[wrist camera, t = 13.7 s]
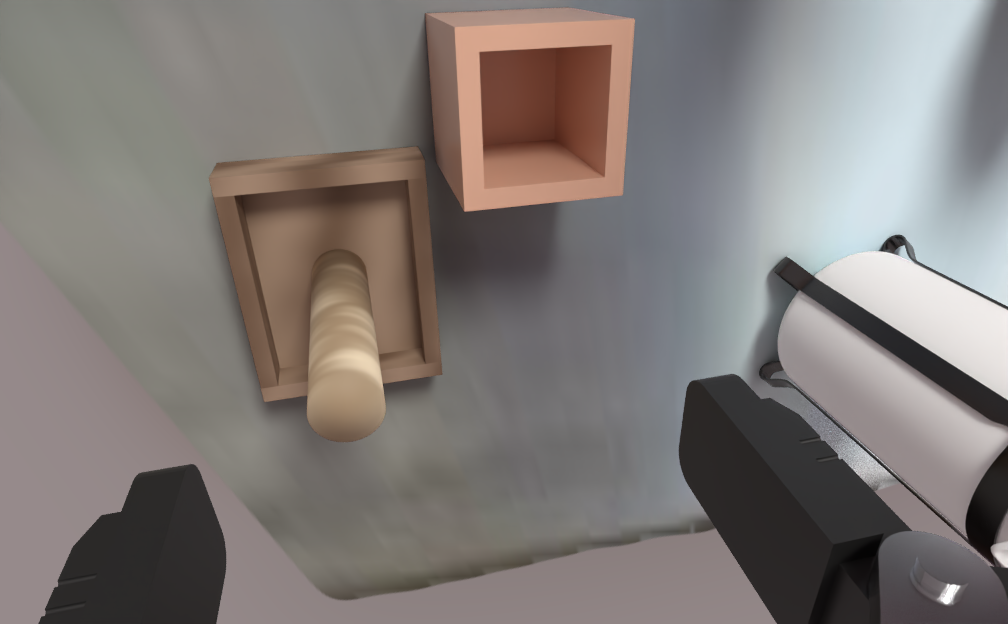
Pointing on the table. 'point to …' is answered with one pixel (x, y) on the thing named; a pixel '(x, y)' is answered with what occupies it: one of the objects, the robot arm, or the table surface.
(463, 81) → the pink open box
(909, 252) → the coffee press
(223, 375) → the table surface
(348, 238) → the tray
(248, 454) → the table surface
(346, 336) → the dowel
